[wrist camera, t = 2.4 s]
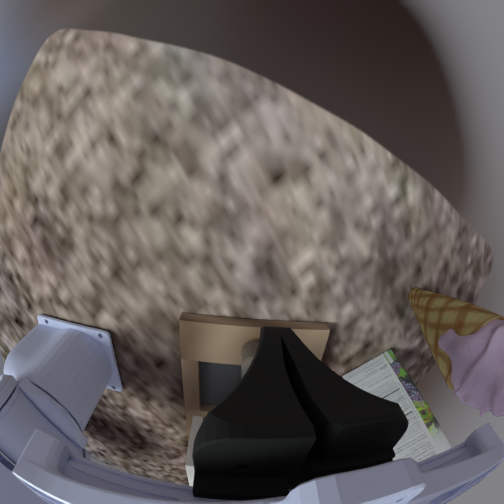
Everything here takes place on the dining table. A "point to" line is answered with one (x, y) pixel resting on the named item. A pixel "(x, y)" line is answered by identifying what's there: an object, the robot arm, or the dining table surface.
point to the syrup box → (402, 406)
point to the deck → (226, 355)
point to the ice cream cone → (464, 347)
